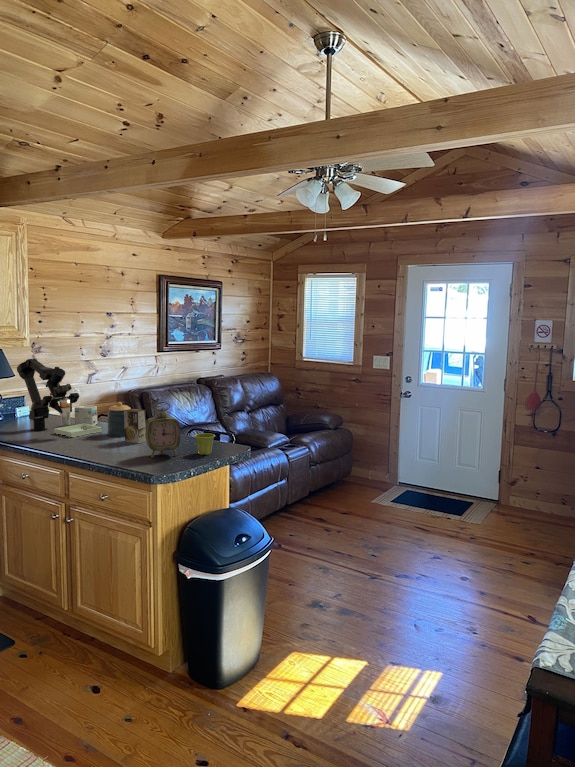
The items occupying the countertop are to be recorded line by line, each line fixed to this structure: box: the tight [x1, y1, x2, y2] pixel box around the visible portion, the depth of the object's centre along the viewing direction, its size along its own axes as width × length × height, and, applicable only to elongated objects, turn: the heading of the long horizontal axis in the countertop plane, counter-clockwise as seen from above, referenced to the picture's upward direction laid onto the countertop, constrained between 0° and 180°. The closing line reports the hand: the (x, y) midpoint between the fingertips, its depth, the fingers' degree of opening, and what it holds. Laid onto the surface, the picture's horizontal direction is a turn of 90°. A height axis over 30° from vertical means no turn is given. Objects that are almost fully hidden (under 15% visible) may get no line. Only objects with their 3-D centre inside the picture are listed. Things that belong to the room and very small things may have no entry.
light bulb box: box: [74, 405, 98, 426], centre depth 330 cm, size 11×7×11 cm, turn 84°
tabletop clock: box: [145, 401, 181, 459], centre depth 263 cm, size 14×9×25 cm, turn 114°
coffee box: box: [124, 408, 147, 444], centre depth 291 cm, size 9×6×16 cm
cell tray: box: [54, 424, 103, 438], centre depth 309 cm, size 16×18×3 cm
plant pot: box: [194, 432, 216, 456], centre depth 269 cm, size 9×9×9 cm
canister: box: [106, 401, 132, 438], centre depth 306 cm, size 13×13×18 cm
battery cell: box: [59, 398, 72, 427], centre depth 296 cm, size 5×5×14 cm
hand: (66, 412), depth 295 cm, fingers closed on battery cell, 5 cm apart
